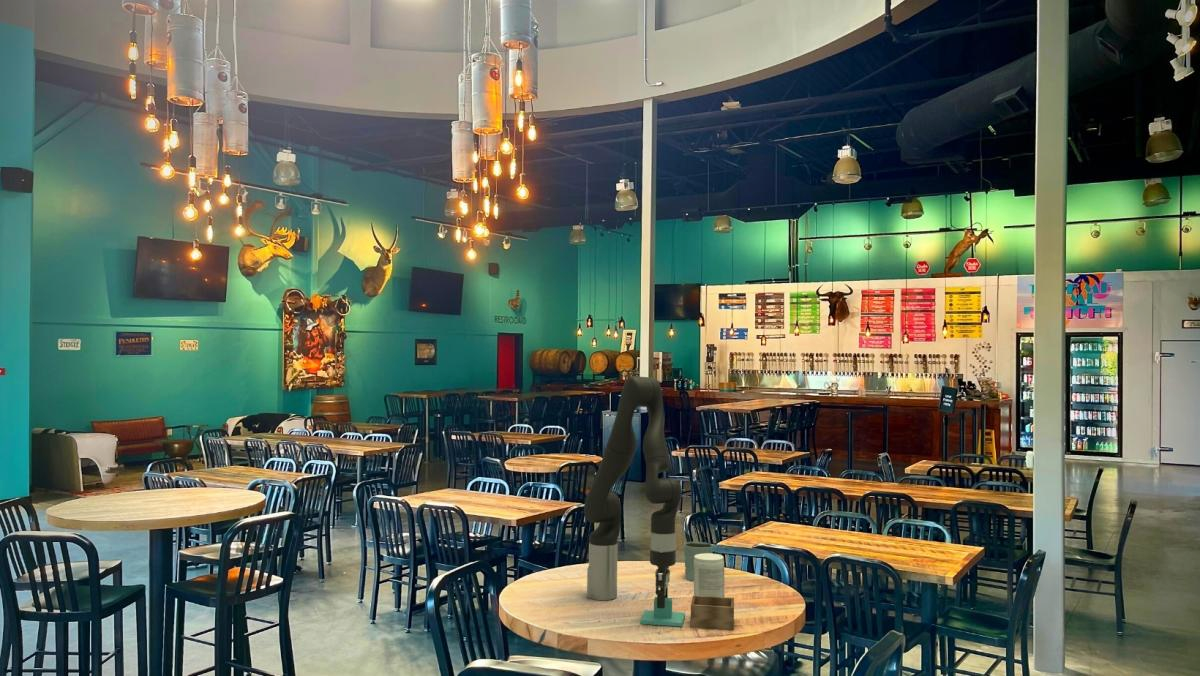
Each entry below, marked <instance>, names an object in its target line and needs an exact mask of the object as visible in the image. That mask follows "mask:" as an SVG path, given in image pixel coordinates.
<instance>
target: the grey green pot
mask: <svg viewBox="0 0 1200 676" xmlns="http://www.w3.org/2000/svg"><path fill="white" fill-rule="evenodd" d="M713 549H714V545H713V544H712V543H710V542H703V541H688V542H684V543H683V556H684V567H685V569H684V576H685V580H686V579H687V581H688V580H689V582H692V581H694V556H695V555H697V554H704V553H711V554H713Z"/></svg>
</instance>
